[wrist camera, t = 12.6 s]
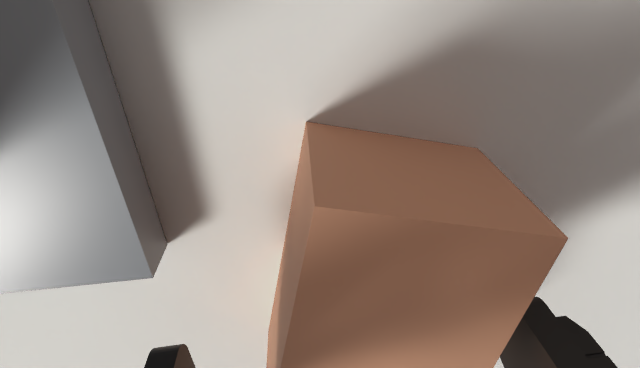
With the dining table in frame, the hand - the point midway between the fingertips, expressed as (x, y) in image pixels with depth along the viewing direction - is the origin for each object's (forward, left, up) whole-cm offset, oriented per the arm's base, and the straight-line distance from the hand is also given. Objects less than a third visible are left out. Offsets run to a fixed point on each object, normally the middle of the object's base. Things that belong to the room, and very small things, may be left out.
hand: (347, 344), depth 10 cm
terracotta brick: (-1, 0, -4) cm, 4 cm away
